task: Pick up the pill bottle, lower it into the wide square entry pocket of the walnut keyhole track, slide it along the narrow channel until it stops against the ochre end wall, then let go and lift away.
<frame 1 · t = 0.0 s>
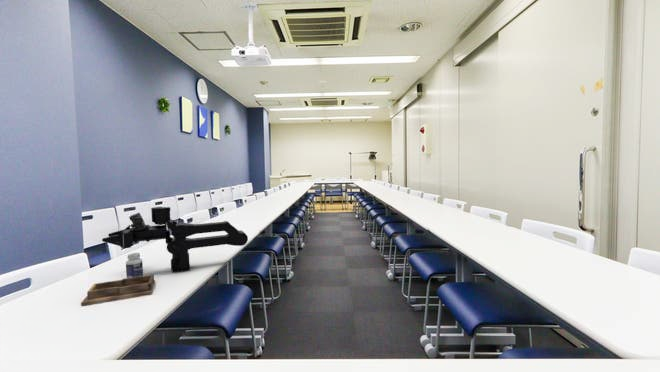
hand: (105, 237, 116), 17 cm above the table, tool horizontal, fingers open, 9 cm apart
pill bottle: (135, 279, 117), on the table
keyhole track: (121, 293, 104), on the table
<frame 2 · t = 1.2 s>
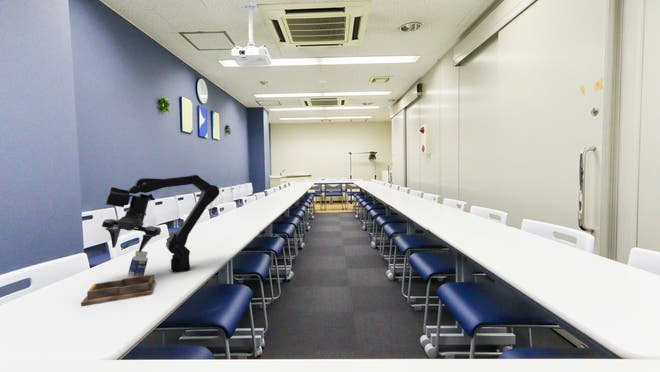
hand: (126, 249, 116), 12 cm above the table, tool tilted 15°, fingers open, 9 cm apart
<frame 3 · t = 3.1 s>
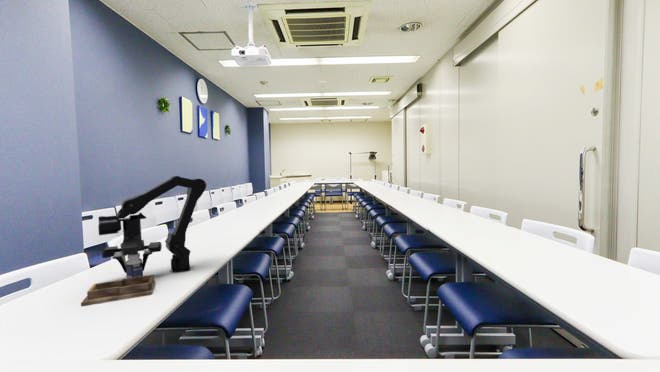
hand: (134, 271, 117), 3 cm above the table, tool pointing down, fingers closed on pill bottle, 5 cm apart
pill bottle: (135, 279, 117), on the table, touching gripper
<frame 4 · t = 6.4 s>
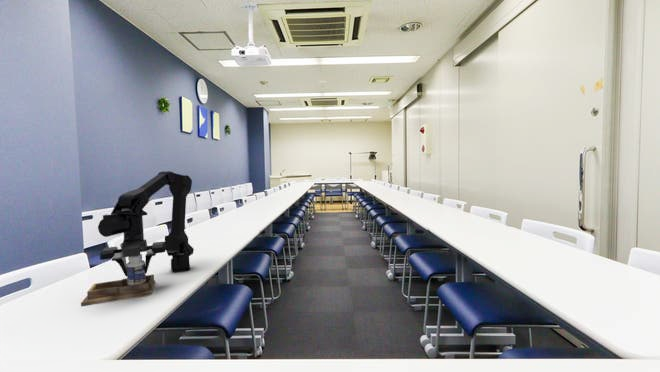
hand: (136, 274, 105), 6 cm above the table, tool pointing down, fingers closed on pill bottle, 5 cm apart
pill bottle: (137, 283, 106), point 3 cm above the table, touching gripper
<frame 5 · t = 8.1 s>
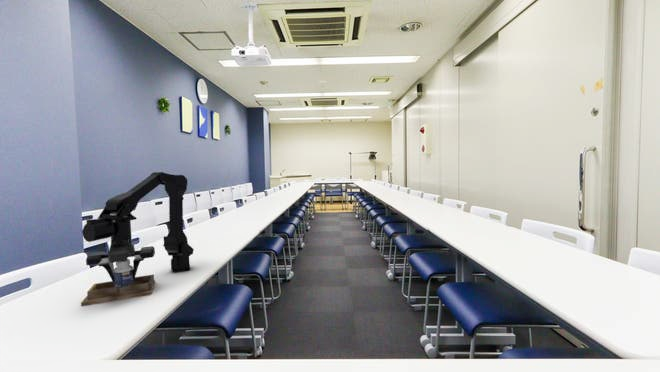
hand: (124, 279, 104), 5 cm above the table, tool pointing down, fingers closed on pill bottle, 5 cm apart
pill bottle: (124, 289, 104), point 1 cm above the table, touching gripper
when the fingers open (4 cm above the table, at t = 9.7 s): pill bottle stays where it is, resting on keyhole track.
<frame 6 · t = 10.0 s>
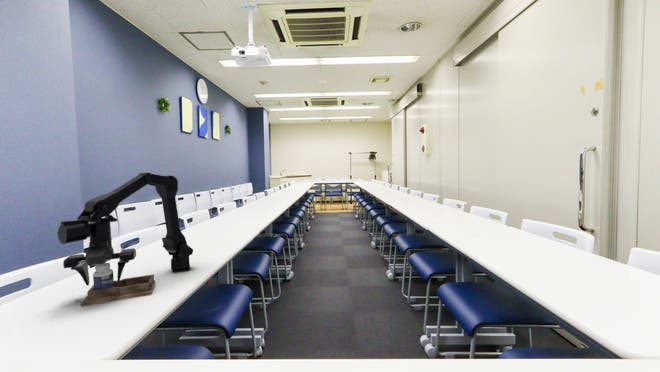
hand: (103, 282, 101), 4 cm above the table, tool pointing down, fingers open, 8 cm apart
pill bottle: (104, 293, 102), point 1 cm above the table, touching keyhole track
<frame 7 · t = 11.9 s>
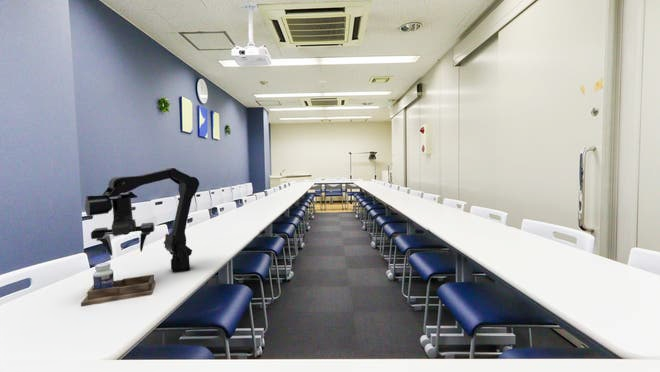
hand: (126, 253, 112), 11 cm above the table, tool pointing down, fingers open, 9 cm apart
nothing on the table moved.
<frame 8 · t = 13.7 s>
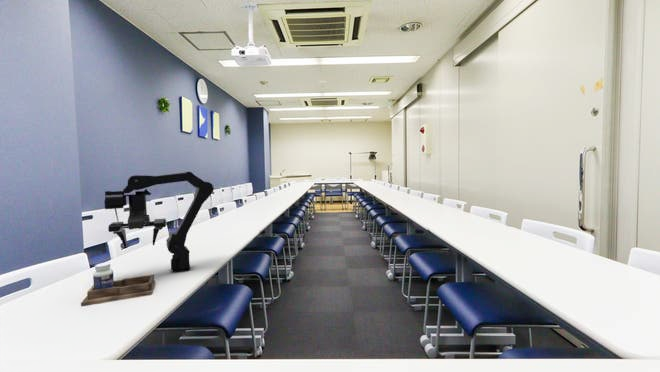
hand: (140, 246, 119), 12 cm above the table, tool pointing down, fingers open, 9 cm apart
nothing on the table moved.
at the end: pill bottle 0.2 cm from the target spot on the keyhole track, point 0.8 cm above the keyhole track's base; pill bottle tilted 0°; the gripper is holding nothing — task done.
